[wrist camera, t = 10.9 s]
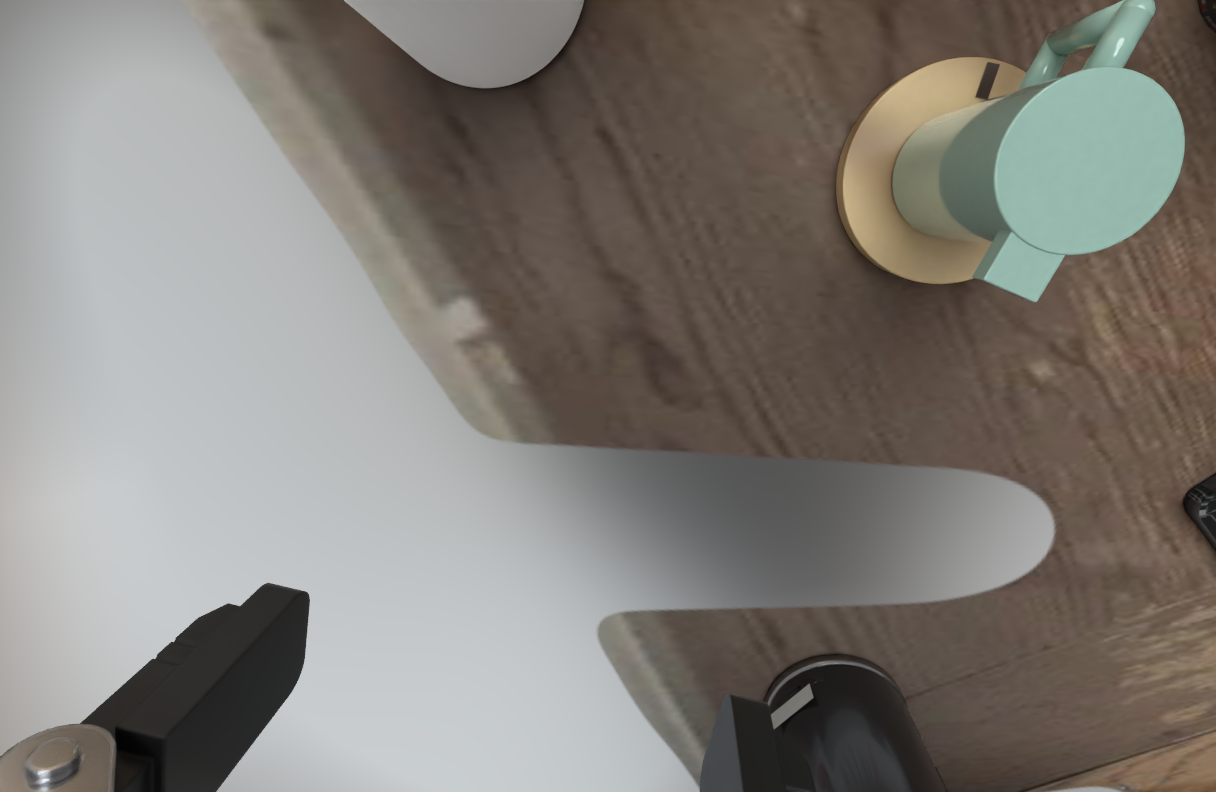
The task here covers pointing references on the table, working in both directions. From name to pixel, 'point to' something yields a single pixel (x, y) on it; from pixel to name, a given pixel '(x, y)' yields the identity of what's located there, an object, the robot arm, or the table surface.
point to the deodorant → (1209, 12)
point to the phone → (1204, 508)
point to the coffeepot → (476, 35)
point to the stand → (874, 159)
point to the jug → (1049, 157)
